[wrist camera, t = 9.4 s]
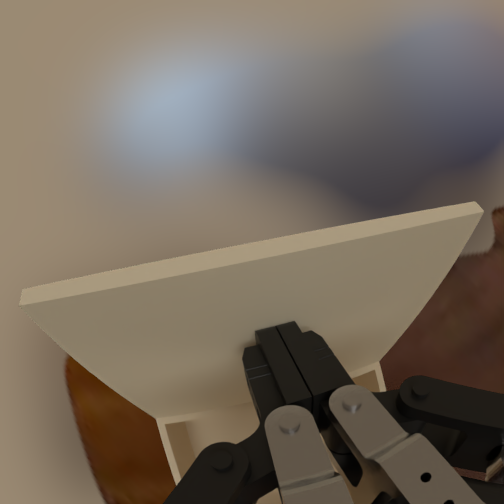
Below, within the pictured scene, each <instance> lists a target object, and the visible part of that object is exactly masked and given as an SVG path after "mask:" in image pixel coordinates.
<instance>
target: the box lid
mask: <svg viewBox="0 0 504 504" xmlns="http://www.w3.org/2000/svg"><path fill="white" fill-rule="evenodd" d="M483 213H484V211H483V209H482V208H481V207H480V206H479V205H478V204H477V203H476V202H475V201H474V202H469V203H463V204H457V205H452V206H446V207H440V208H435V209H429V210H423V211H418V212H412V213H407V214H402V215H396V216H390V217H385V218H380V219H374V220H368V221H363V222H357V223H353V224H347V225H341V226H336V227H330V228H325V229H320V230H314V231H309V232H304V233H299V234H293V235H288V236H283V237H278V238H272V239H267V240H262V241H257V242H252V243H247V244H242V245H236V246H231V247H227V248H221V249H216V250H211V251H206V252H201V253H195V254H190V255H185V256H181V257H175V258H170V259H165V260H161V261H155V262H151V263H146V264H141V265H136V266H131V267H126V268H121V269H116V270H111V271H107V272H102V273H97V274H92V275H87V276H82V277H77V278H73V279H68V280H63V281H59V282H54V283H49V284H44V285H40V286H35V287H31V288H25V289H23V291H22V295H21V299H20V304H19V306H20V307H21V308H22V309H23V311H24V312H25V313H26V314H27V315H28V316H29V317H30V318H31V319H32V320H33V321H34V322H35V323H36V324H37V325H38V326H39V327H40V328H41V329H42V330H43V331H44V332H45V333H46V334H47V335H48V336H49V337H50V338H51V339H53V340H54V341H55V342H56V343H57V344H58V345H59V346H60V347H61V348H62V349H64V350H65V351H66V352H67V353H68V354H69V355H70V356H71V357H73V358H74V359H75V360H76V361H77V362H79V363H80V364H81V365H82V366H83V367H85V368H86V369H87V370H88V371H89V372H91V373H92V374H93V375H95V376H96V377H97V378H98V379H100V380H101V381H102V382H104V383H105V384H106V385H108V386H109V387H110V388H112V389H113V390H114V391H116V392H117V393H118V394H120V395H121V396H123V397H124V398H125V399H127V400H128V401H130V402H131V403H133V404H134V405H136V406H137V407H139V408H140V409H142V410H143V411H145V412H146V413H148V414H149V415H151V416H153V417H154V418H162V417H170V416H177V415H184V414H191V413H197V412H203V411H208V410H214V409H219V408H224V407H229V406H234V405H238V404H243V403H247V402H251V401H252V398H251V395H250V392H249V389H248V386H247V381H246V376H245V371H244V366H243V361H242V357H243V353H244V349H245V348H246V347H250V346H254V345H256V339H255V331H257V330H261V329H265V328H269V327H273V326H274V327H275V326H276V325H280V324H284V323H288V322H292V321H295V322H296V323H297V325H298V326H299V328H300V330H301V331H302V333H303V332H306V331H310V330H312V331H314V332H315V333H317V334H318V335H320V336H322V337H323V339H324V340H325V342H326V343H327V344H328V346H329V348H330V349H331V350H332V352H333V353H334V355H335V356H336V357H337V359H338V360H339V362H340V363H341V364H342V366H343V367H344V369H345V370H346V372H347V373H349V372H352V371H355V370H357V369H360V368H363V367H365V366H368V365H370V364H373V363H376V362H378V361H380V360H381V359H382V358H383V356H384V355H385V354H386V353H387V352H388V351H389V350H390V348H391V347H392V346H393V345H394V344H395V343H396V341H397V340H398V339H399V338H400V337H401V335H402V334H403V333H404V332H405V330H406V329H407V328H408V327H409V325H410V324H411V323H412V322H413V320H414V319H415V318H416V317H417V315H418V314H419V313H420V311H421V310H422V309H423V307H424V306H425V305H426V303H427V302H428V301H429V299H430V298H431V296H432V295H433V294H434V292H435V291H436V289H437V288H438V287H439V285H440V284H441V282H442V281H443V279H444V278H445V276H446V275H447V273H448V272H449V270H450V269H451V267H452V266H453V264H454V263H455V261H456V259H457V258H458V256H459V255H460V253H461V251H462V250H463V248H464V246H465V245H466V243H467V241H468V239H469V238H470V236H471V234H472V233H473V231H474V229H475V227H476V225H477V224H478V222H479V220H480V218H481V216H482V214H483Z"/></svg>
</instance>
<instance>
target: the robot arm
mask: <svg viewBox="0 0 504 504" xmlns="http://www.w3.org/2000/svg"><path fill="white" fill-rule="evenodd" d="M255 339H256V345H254V346H250V347H246V348H245V349H244V353H243V357H242V361H243V366H244V371H245V376H246V381H247V386H248V389H249V392H250V395H251V398H252V401H253V404H254V407H255V410H256V413H257V416H258V419H259V422H260V424H259V427H258V428H257V430H256V431H255V432H254V433H253V434H252V435H251V436H249V437H248V438H246V439H244V440H243V441H241V442H239V443H237V444H234V443H230V442H217V443H214V444H211V445H209V446H207V447H206V448H204V449H203V450H202V451H201V452H200V454H199V455H198V456H197V458H196V459H195V461H194V462H193V464H192V465H191V466H190V468H189V469H188V471H187V472H186V473H185V475H184V476H183V477H182V479H181V480H180V482H179V483H178V484H177V486H176V487H175V488H174V490H173V491H172V492H171V494H170V495H169V496H168V498H167V499H166V500H165V502H164V503H163V504H256V503H257V501H258V499H259V498H261V497H263V496H264V495H266V494H268V493H269V492H271V491H273V490H274V489H276V488H278V492H279V496H280V500H281V503H282V504H504V394H500V393H495V392H490V391H485V390H481V389H476V388H472V387H467V386H463V385H458V384H454V383H450V382H446V381H442V380H438V379H434V378H430V377H426V376H412V377H410V378H408V379H406V380H405V381H404V382H403V383H402V384H401V386H400V389H398V390H391V391H385V392H370V391H369V390H368V389H367V388H365V387H363V386H359V385H356V384H355V383H354V382H353V380H352V379H351V377H350V376H349V374H348V373H347V372H346V370H345V369H344V367H343V366H342V364H341V363H340V362H339V360H338V359H337V357H336V356H335V355H334V353H333V352H332V350H331V349H330V348H329V346H328V344H327V343H326V342H325V340H324V339H323V337H322V336H320V335H318V334H317V333H315V332H314V331H312V330H310V331H306V332H303V333H302V331H301V330H300V328H299V326H298V325H297V323H296V322H295V321H292V322H288V323H284V324H280V325H276V326H275V327H274V326H273V327H269V328H265V329H261V330H257V331H255ZM320 433H321V435H322V437H323V439H324V443H323V441H322V438H321V435H320ZM330 460H331V461H330ZM331 462H332V463H333V465H334V466H335V468H336V470H337V471H338V473H337V472H335V470H334V468H333V466H332V463H331ZM452 466H453V467H458V468H463V469H468V470H473V471H479V472H485V473H487V475H486V477H485V481H482V480H477V479H472V478H468V477H463V476H460V475H459V474H458V473H457V472H456V471H455V470H454V469H453V468H452ZM346 485H347V486H346ZM347 487H348V488H349V490H350V493H351V496H350V493H349V491H348V488H347ZM351 497H352V498H351Z"/></svg>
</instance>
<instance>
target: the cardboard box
mask: <svg viewBox="0 0 504 504" xmlns="http://www.w3.org/2000/svg"><path fill="white" fill-rule="evenodd" d="M348 374H349V376H350V377H351V379H352V380H353V382H354V383H355V384H356V385H359V386H363V387H365V388H367V389H368V390H369V391H370V392H385V391H386V388H385V384H384V379H383V375H382V371H381V367H380V363H379V361H378V362H376V363H373V364H370V365H368V366H365V367H363V368H360V369H357V370H355V371H352V372H349V373H348ZM156 421H157V425H158V428H159V432H160V435H161V439H162V442H163V446H164V449H165V452H166V456H167V459H168V462H169V465H170V468H171V471H172V474H173V477H174V480H175V483H176V486H177V484H178V483H179V482H180V480H181V479H182V477H183V476H184V475H185V473H186V472H187V471H188V469H189V468H190V466H191V465H192V464H193V462H194V461H195V459H196V458H197V456H198V455H199V454H200V452H201V451H202V450H203V449H204V448H206V447H207V446H209V445H211V444H214V443H217V442H230V443H234V444H237V443H239V442H241V441H243V440H244V439H246V438H248V437H249V436H251V435H252V434H253V433H254V432H255V431H256V430H257V428H258V427H259V424H260V422H259V419H258V416H257V413H256V410H255V407H254V404H253V401H251V402H247V403H243V404H238V405H234V406H229V407H224V408H219V409H214V410H208V411H203V412H197V413H191V414H184V415H177V416H170V417H162V418H156ZM320 435H321V433H320ZM321 438H322V441H323V443H324V439H323V437H322V435H321ZM330 461H331V460H330ZM331 463H332V462H331ZM332 466H333V468H334V470H335V472H337V473H338V471H337V470H336V468H335V466H334V465H333V463H332ZM346 486H347V485H346ZM347 488H348V487H347ZM348 491H349V493H350V490H349V488H348ZM350 496H351V493H350ZM351 498H352V497H351ZM256 504H282V503H281V500H280V496H279V492H278V488H276V489H274V490H273V491H271V492H269V493H268V494H266V495H264V496H263V497H261V498H259V499H258V501H257V503H256Z"/></svg>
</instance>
